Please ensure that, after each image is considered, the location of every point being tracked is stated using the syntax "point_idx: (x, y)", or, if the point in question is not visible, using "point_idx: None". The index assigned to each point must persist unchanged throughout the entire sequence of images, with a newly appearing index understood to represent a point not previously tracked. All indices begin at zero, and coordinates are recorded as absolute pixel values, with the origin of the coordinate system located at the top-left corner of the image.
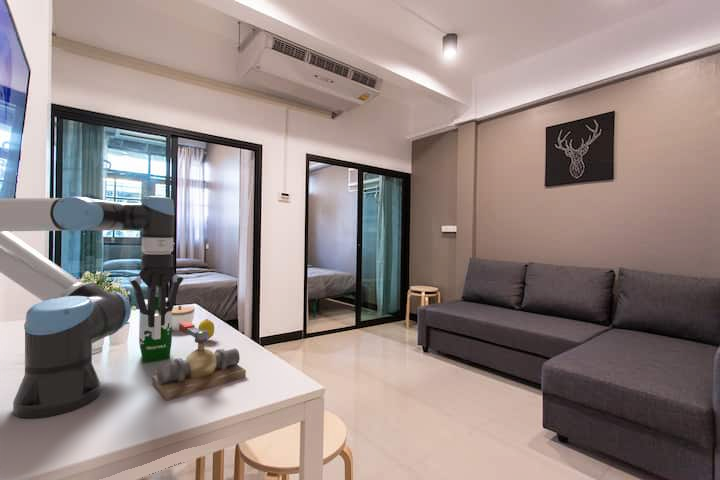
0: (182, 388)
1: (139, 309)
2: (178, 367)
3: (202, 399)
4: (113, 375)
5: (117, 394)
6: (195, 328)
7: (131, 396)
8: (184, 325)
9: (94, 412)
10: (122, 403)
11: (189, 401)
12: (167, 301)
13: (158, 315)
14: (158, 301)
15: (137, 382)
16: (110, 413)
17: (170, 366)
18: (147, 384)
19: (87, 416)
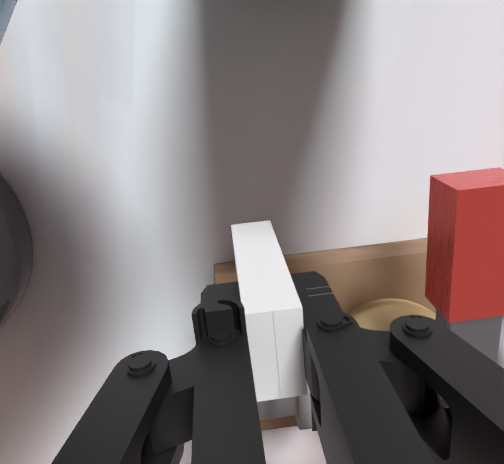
0: (285, 425)
1: (102, 388)
2: (296, 414)
3: (323, 451)
4: (68, 65)
5: (94, 290)
6: (492, 356)
7: (138, 330)
8: (459, 286)
9: (34, 383)
10: (111, 366)
11: (289, 445)
12: (448, 402)
13: (285, 393)
14: (335, 421)
15: (164, 217)
16: (80, 410)
17: (268, 416)
18: (197, 259)
19: (18, 397)
